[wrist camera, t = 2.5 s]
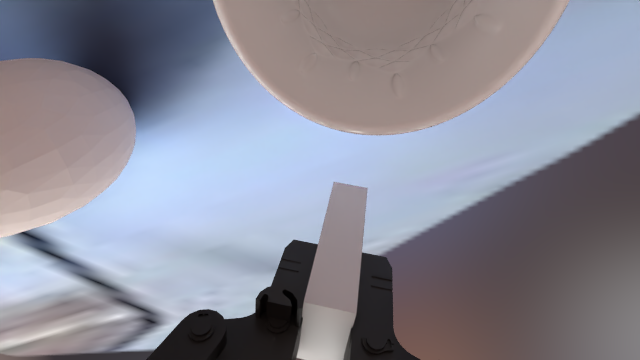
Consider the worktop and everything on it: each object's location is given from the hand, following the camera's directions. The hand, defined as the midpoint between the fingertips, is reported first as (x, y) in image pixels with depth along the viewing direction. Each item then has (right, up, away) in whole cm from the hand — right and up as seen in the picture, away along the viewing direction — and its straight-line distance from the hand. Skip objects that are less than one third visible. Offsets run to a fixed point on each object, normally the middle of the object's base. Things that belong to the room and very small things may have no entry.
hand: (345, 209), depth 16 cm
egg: (-14, +6, +6) cm, 16 cm away
